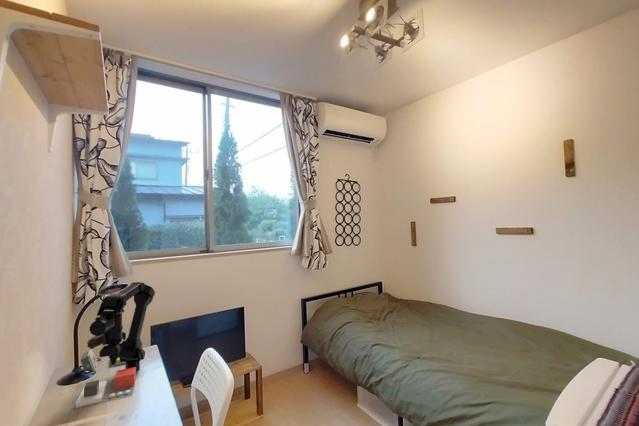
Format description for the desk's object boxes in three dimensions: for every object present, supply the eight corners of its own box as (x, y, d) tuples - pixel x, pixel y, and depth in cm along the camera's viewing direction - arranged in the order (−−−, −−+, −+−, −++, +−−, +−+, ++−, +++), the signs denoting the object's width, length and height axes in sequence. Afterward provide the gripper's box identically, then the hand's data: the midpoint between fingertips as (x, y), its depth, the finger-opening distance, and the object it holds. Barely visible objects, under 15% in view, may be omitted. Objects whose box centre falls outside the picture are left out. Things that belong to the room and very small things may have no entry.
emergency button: (133, 345, 158) (134, 356, 146) (133, 354, 158) (134, 365, 146) (112, 350, 153) (111, 360, 141) (112, 358, 153) (111, 370, 141)
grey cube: (86, 392, 116) (86, 382, 116) (98, 389, 118) (99, 380, 118) (83, 397, 112) (84, 387, 112) (96, 394, 114) (97, 384, 114)
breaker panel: (82, 390, 122) (82, 383, 123) (136, 379, 131) (136, 372, 131) (70, 413, 107) (70, 405, 107) (132, 398, 116) (132, 391, 116)
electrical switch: (96, 373, 136) (94, 353, 136) (81, 378, 134) (79, 357, 134) (98, 365, 144) (96, 346, 144) (84, 369, 142) (82, 350, 142)
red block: (116, 382, 127) (117, 370, 127) (135, 378, 130) (135, 366, 130) (114, 389, 121) (114, 377, 121) (134, 385, 124) (134, 373, 124)
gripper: (95, 322, 128) (95, 359, 127) (82, 338, 111) (82, 380, 110) (126, 318, 132) (125, 353, 132) (118, 332, 115) (118, 373, 115)
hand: (113, 364), depth 122 cm, fingers closed
